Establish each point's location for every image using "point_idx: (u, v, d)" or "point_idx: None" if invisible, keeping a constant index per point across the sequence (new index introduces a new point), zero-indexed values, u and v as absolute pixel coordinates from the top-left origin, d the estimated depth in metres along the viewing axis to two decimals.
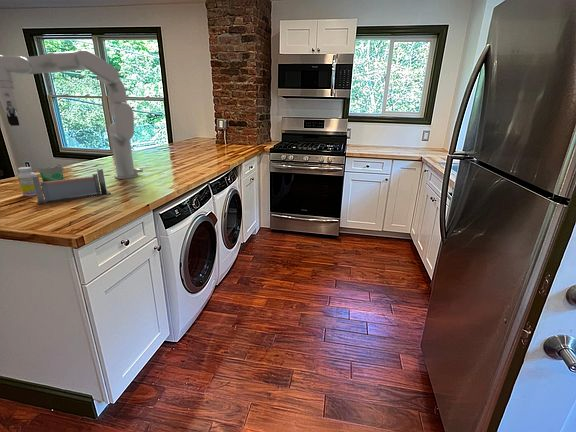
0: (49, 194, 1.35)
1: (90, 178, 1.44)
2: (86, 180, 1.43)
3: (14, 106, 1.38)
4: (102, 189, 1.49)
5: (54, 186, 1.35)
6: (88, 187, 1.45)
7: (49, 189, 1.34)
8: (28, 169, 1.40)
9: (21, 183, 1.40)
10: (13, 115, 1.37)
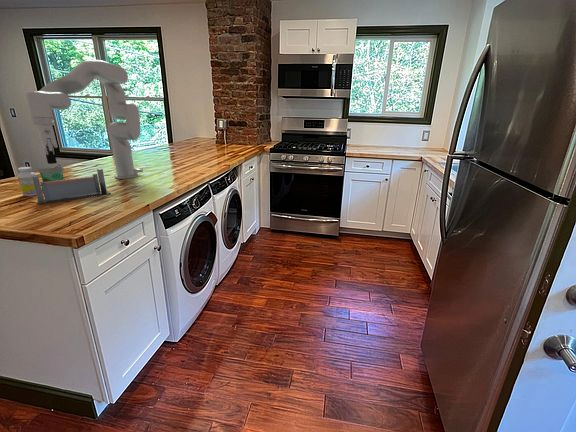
0: (49, 194, 1.35)
1: (90, 178, 1.44)
2: (86, 180, 1.43)
3: (53, 143, 1.34)
4: (102, 189, 1.49)
5: (54, 186, 1.35)
6: (88, 187, 1.45)
7: (49, 189, 1.34)
8: (28, 169, 1.40)
9: (21, 183, 1.40)
10: None
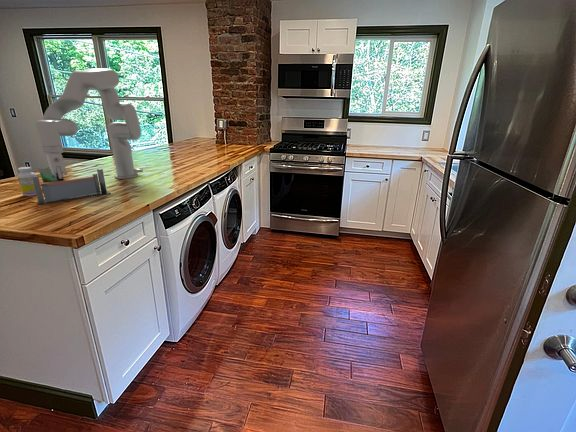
0: (50, 195, 1.34)
1: (90, 178, 1.44)
2: (86, 180, 1.43)
3: (63, 170, 1.34)
4: (102, 189, 1.49)
5: (55, 187, 1.34)
6: (88, 187, 1.44)
7: (50, 190, 1.33)
8: (28, 169, 1.40)
9: (21, 183, 1.40)
10: None
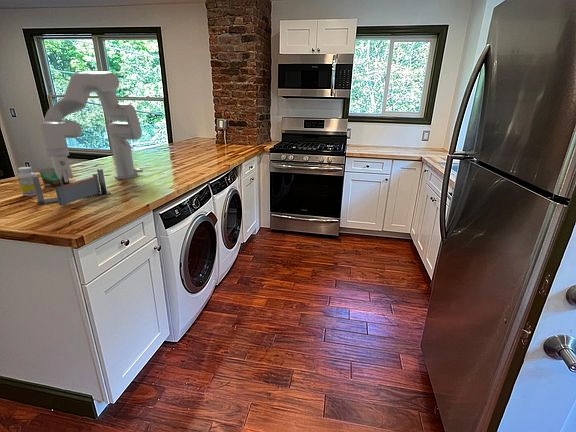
0: (65, 198, 1.30)
1: (93, 178, 1.44)
2: (90, 181, 1.42)
3: (69, 174, 1.30)
4: (102, 189, 1.49)
5: (68, 189, 1.31)
6: (92, 188, 1.44)
7: (64, 193, 1.30)
8: (28, 169, 1.40)
9: (21, 183, 1.40)
10: None
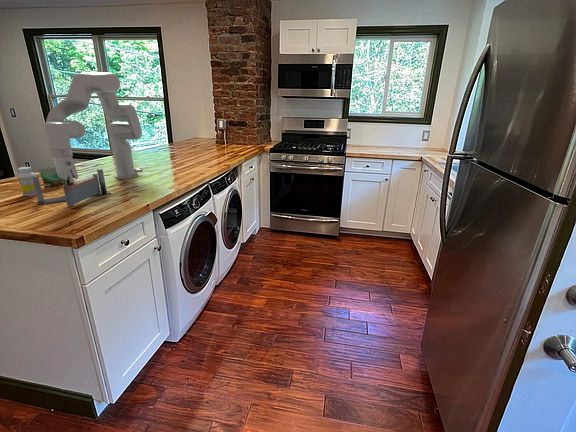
0: (73, 199, 1.30)
1: (94, 178, 1.44)
2: (92, 181, 1.42)
3: (75, 174, 1.30)
4: (102, 189, 1.49)
5: (75, 190, 1.31)
6: (93, 188, 1.44)
7: (72, 193, 1.30)
8: (28, 169, 1.40)
9: (21, 183, 1.40)
10: None
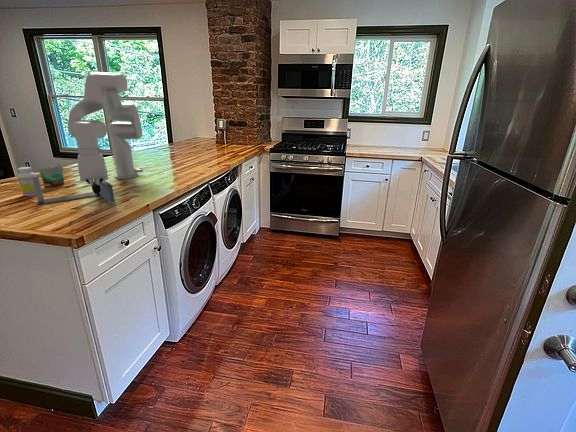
0: None
1: None
2: None
3: (106, 170, 1.36)
4: None
5: None
6: None
7: None
8: (28, 169, 1.40)
9: (21, 183, 1.40)
10: None
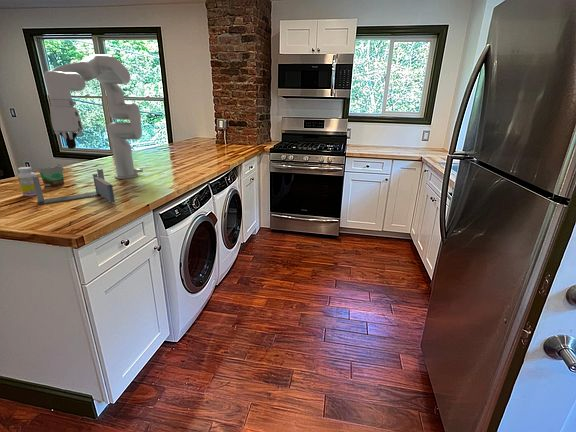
0: None
1: None
2: None
3: (81, 125, 1.32)
4: None
5: None
6: None
7: None
8: (28, 169, 1.40)
9: (21, 183, 1.40)
10: None
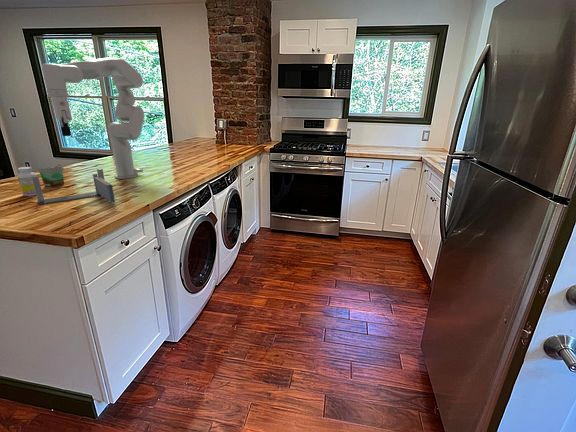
0: None
1: None
2: None
3: (68, 115, 1.38)
4: None
5: None
6: None
7: None
8: (28, 169, 1.40)
9: (21, 183, 1.40)
10: (66, 127, 1.41)
